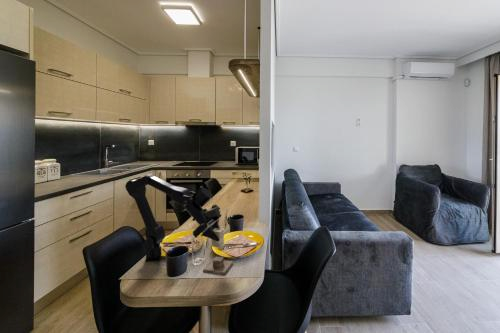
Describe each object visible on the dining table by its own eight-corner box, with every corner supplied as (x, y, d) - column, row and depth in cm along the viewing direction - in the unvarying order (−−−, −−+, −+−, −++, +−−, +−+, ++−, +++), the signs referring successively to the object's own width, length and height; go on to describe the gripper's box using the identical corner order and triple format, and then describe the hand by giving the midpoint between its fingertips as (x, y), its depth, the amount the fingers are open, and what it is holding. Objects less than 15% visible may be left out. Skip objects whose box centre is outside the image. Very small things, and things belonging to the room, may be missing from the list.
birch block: (211, 246, 117) (211, 231, 116) (215, 242, 121) (215, 227, 120) (220, 247, 116) (220, 232, 115) (223, 243, 120) (223, 228, 119)
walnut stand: (203, 271, 116) (202, 262, 116) (212, 260, 126) (212, 252, 125) (224, 274, 114) (224, 265, 113) (232, 263, 123) (232, 255, 123)
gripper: (198, 206, 108) (224, 236, 106) (217, 195, 126) (239, 220, 124) (181, 223, 111) (207, 252, 110) (202, 210, 129) (224, 235, 127)
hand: (220, 238), depth 118 cm, fingers closed on birch block, 4 cm apart
